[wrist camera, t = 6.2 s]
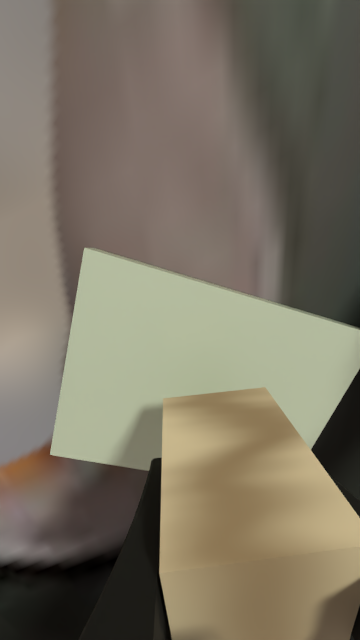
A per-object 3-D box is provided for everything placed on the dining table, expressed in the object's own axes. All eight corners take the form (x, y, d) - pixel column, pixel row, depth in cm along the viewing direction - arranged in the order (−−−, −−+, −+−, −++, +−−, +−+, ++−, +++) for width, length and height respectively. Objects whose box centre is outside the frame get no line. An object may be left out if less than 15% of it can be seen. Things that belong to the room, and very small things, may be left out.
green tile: (359, 327, 15) (379, 335, 14) (275, 474, 19) (284, 493, 18) (93, 248, 13) (84, 247, 11) (60, 436, 16) (50, 454, 15)
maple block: (265, 387, 11) (378, 543, 5) (262, 463, 12) (345, 650, 7) (163, 398, 11) (159, 573, 5) (172, 474, 12) (178, 674, 6)
